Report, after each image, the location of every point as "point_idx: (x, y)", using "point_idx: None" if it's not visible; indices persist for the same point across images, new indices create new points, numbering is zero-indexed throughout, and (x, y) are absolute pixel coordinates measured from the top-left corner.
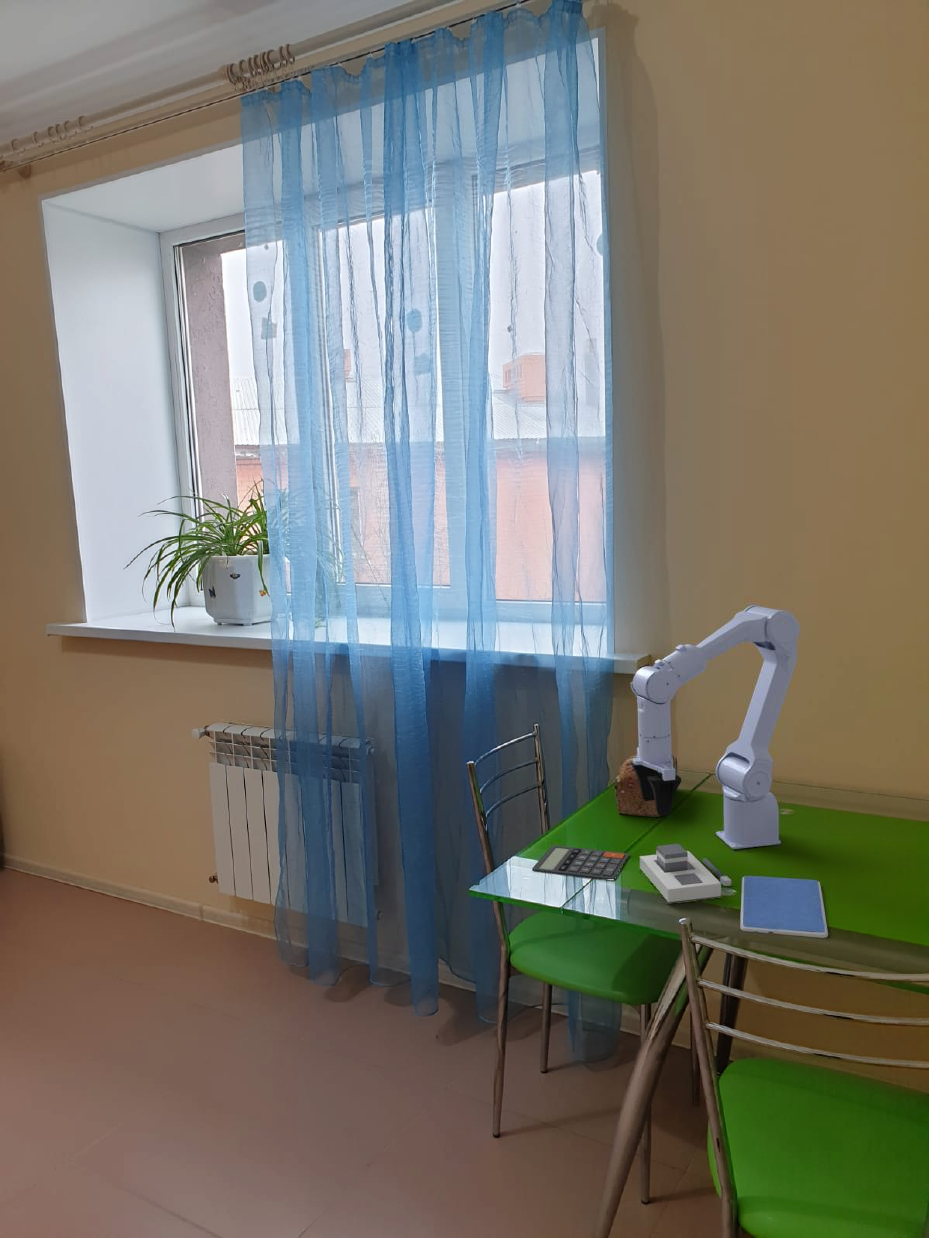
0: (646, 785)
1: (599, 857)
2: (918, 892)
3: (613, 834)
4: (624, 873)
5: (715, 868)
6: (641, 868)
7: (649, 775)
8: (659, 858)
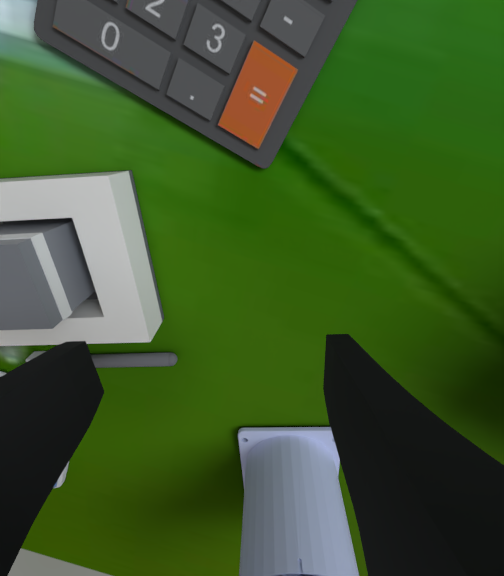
0: (358, 438)
1: (253, 22)
2: (43, 554)
3: (481, 161)
4: (107, 103)
5: (100, 365)
6: (111, 172)
7: (391, 571)
8: (17, 233)
